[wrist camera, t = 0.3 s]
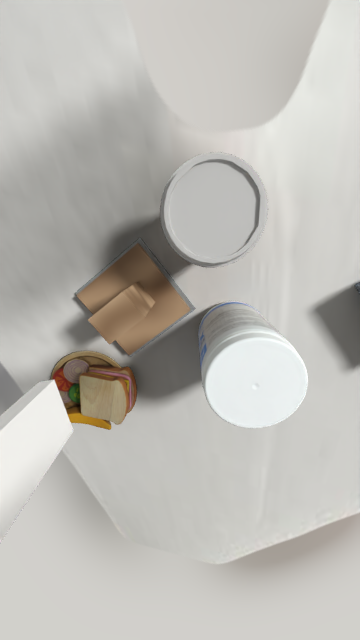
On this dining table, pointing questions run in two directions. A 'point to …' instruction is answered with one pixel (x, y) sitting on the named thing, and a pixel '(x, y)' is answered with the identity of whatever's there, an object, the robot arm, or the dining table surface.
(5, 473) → the robot arm
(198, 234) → the disposable coffee cup
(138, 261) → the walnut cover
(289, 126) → the dining table surface
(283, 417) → the supplement tub
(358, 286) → the ruin model on sheet
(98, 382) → the toy sandwich meal
